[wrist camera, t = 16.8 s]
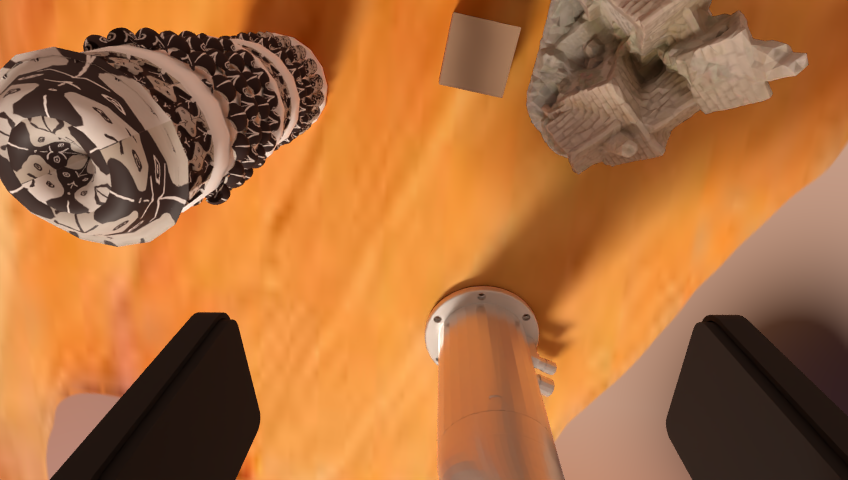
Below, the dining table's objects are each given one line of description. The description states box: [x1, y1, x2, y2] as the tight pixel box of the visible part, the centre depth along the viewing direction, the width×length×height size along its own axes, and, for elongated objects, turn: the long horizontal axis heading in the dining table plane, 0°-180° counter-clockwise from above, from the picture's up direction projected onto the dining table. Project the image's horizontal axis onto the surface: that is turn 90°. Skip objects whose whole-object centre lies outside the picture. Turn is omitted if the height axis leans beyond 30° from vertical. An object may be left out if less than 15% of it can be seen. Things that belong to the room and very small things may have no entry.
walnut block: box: [439, 12, 521, 98], centre depth 35 cm, size 5×5×5 cm
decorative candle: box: [0, 28, 328, 247], centre depth 28 cm, size 9×9×25 cm
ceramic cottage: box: [526, 0, 809, 174], centre depth 31 cm, size 16×16×15 cm
